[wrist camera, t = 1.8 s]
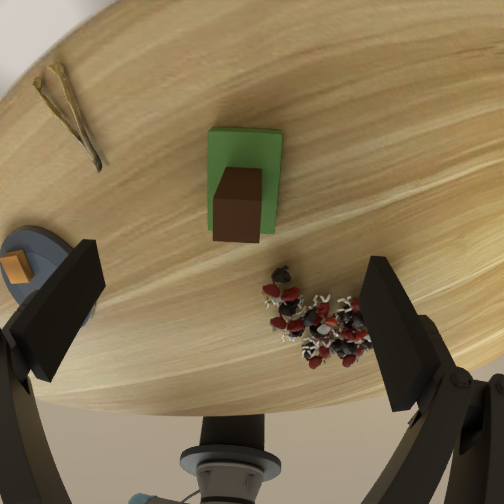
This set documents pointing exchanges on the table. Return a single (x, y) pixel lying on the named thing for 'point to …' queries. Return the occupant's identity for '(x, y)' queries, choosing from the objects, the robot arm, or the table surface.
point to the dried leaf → (73, 104)
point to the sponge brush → (243, 182)
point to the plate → (36, 259)
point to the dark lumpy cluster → (318, 323)
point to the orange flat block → (17, 267)
